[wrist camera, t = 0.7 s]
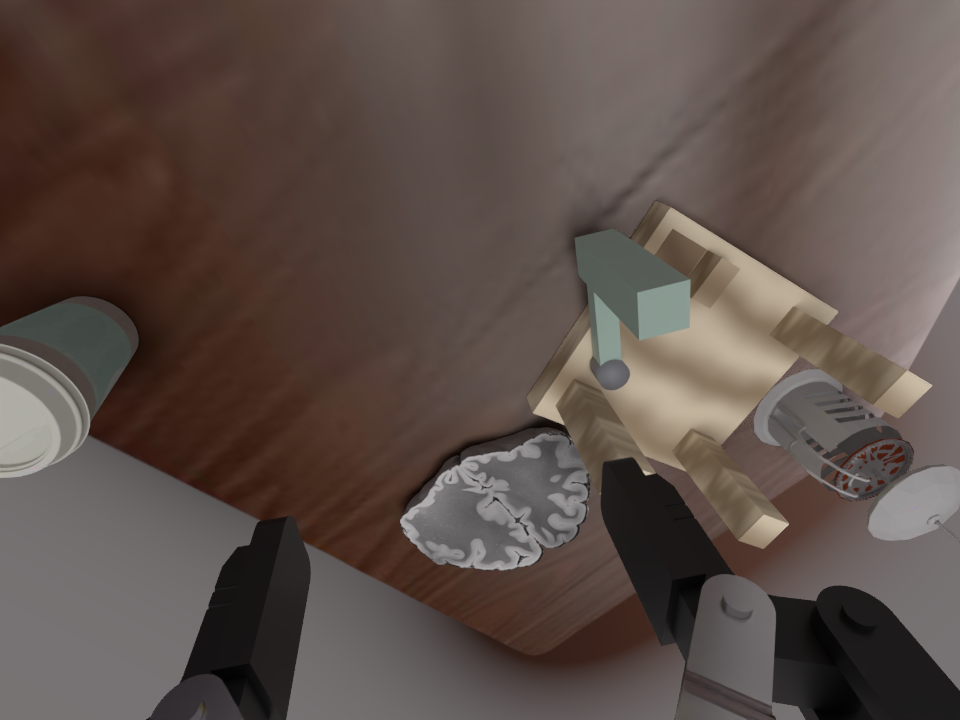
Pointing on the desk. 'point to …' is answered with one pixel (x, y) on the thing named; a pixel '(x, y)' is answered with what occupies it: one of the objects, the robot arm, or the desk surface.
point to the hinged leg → (627, 298)
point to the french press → (857, 456)
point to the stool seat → (708, 372)
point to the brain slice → (501, 502)
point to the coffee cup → (58, 378)
